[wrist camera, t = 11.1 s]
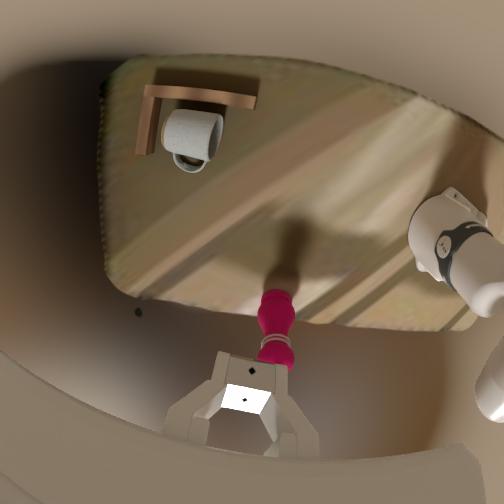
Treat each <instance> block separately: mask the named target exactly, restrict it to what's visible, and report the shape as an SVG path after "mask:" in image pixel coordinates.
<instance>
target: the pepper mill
mask: <svg viewBox="0 0 504 504" xmlns="http://www.w3.org/2000/svg"><path fill="white" fill-rule="evenodd" d="M294 319H295V311H294V308H293V306H292V302H291V298H290V296H289V295H288V294H287V293H286V292H284V291H282V290H271V291H269V292H267V293H265V294H264V295H263V297H262V299H261V306H260V307H259V309H258V321H259V324H260V326H261V328H262V330H263V332H264V334H265V338H264V339H263V340H262V343H261V345H262V346H261V350H260V351H259V354H258V357H257V360H260V361H265V362H270V363H275V364H281V365H286V366H287V367H288V372H289V371H290V370H291V368H292V366H293V364H294V353H293V351H292V350H291V342H290V340H289V339H288V337H287V334H288V331H289V330H290V328H291V326H292V325H293V322H294Z"/></svg>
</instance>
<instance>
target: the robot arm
mask: <svg viewBox="0 0 504 504" xmlns="http://www.w3.org/2000/svg"><path fill="white" fill-rule="evenodd" d="M454 195H455V197H454ZM487 225H488V221H487V218H486V216H485V215H484V214H483V213H482V212H480V211H479V210H478V209H477V208H476V207H475V206H474V205H473V204H471V203H470V202H469V201H468V200H467V199H466V198H465V197H464V196H463V195H462V194H461V193H459V192H458V191H457V190H456V189H455V188H453V187H448V188H447V189H446V190H445V191H443V192H442V193H441V194H440V195H437V196H434V197H432V198H430V199H428V200H426V201H425V202H424V203H423V204H422V205H421V206H420V207H419V208H418V209H417V211H416V212H415V214H414V216H413V218H412V220H411V223H410V226H409V232H408V240H409V245H410V248H411V250H412V252H413V254H414V256H415V258H416V267H417V269H418V270H420V271H428V272H429V273H430V274H431V275H432V276H433V277H434V278H435V279H436V280H437V281H440V280H441V281H445V282H446V283H447V285H448V286H450V287H451V288H452V289H453V290H454V291H456V292H458V293H459V294H460V295H461V297H462V298H463V299H464V300H465V302H466V303H467V304H468V306H469V307H470V308H471V310H472V311H473V312H474V313H476V314H477V315H479V316H482V317H493V316H496V315H498V314H500V313H502V312H504V245H503V244H502V243H501V242H499V241H498V240H496V239H495V238H494V237H493V235H492V232H491V231H490V230H489V229H488V228H487ZM475 397H476V402H477V405H478V407H479V409H480V411H481V412H482V414H483V415H484V416H485V417H487V418H488V419H489V420H492V421H494V422H499V423H503V422H504V336H503V337H502V339H501V341H500V342H499V343H498V345H497V346H496V348H495V349H494V351H493V352H492V353H491V355H490V357H489V359H488V360H487V362H486V364H485V366H484V368H483V370H482V372H481V374H480V375H479V377H478V379H477V381H476V384H475ZM221 406H222V407H227V408H232V409H238V410H243V411H247V412H252V413H258V414H259V415H260V417H261V419H262V421H263V423H264V425H265V427H266V429H267V431H268V433H269V435H270V437H271V439H272V441H273V442H274V443H273V444H272V445H271V446H270V447H269V449H268V450H267V451H266V452H265V453H264V456H261V455H253V454H246V453H240V452H234V451H229V450H224V449H219V448H213V447H209V446H205V443H206V439H207V434H208V429H209V424H210V422H209V421H208V419H209V418H210V417H211V416H212V415H214V414H215V413H216V412H217V411H218V410H219V409H220V408H221ZM0 504H486V497H485V489H484V482H483V476H482V471H481V466H480V463H479V460H478V458H477V456H476V455H475V454H474V453H473V452H472V451H471V450H470V449H469V448H468V447H467V446H466V445H464V444H463V443H457V444H453V445H449V446H445V447H441V448H436V449H432V450H427V451H422V452H416V453H410V454H404V455H397V456H389V457H380V458H368V459H351V460H320V456H319V435H318V433H317V432H316V431H315V429H314V428H313V427H312V425H311V424H310V422H309V421H308V420H307V418H306V417H305V415H304V414H303V413H302V412H301V410H300V409H299V407H298V406H297V404H296V403H295V401H294V400H293V399H292V397H291V396H288V367H287V366H286V365H281V364H275V363H270V362H265V361H260V360H255V359H248V358H244V357H240V356H236V355H233V354H228V353H224V352H221V351H219V352H218V354H217V359H216V362H215V366H214V370H213V374H212V379H211V381H210V380H207V381H206V382H204V383H203V384H202V385H200V386H199V387H198V388H196V389H195V390H193V391H192V392H191V393H190V394H188V395H187V396H185V397H184V398H182V399H181V400H180V401H178V402H177V403H175V404H174V405H173V406H171V407H170V408H169V411H168V414H167V417H166V420H165V422H164V425H163V428H162V431H161V433H158V432H155V431H152V430H149V429H146V428H143V427H141V426H138V425H135V424H132V423H130V422H127V421H125V420H122V419H120V418H117V417H115V416H113V415H110V414H108V413H106V412H104V411H101V410H99V409H97V408H95V407H92V406H90V405H89V404H86V403H84V402H82V401H80V400H78V399H77V398H75V397H73V396H71V395H69V394H67V393H65V392H63V391H62V390H60V389H58V388H56V387H55V386H53V385H51V384H49V383H48V382H46V381H45V380H43V379H41V378H40V377H38V376H37V375H35V374H34V373H32V372H30V371H29V370H27V369H26V368H24V367H23V366H22V365H20V364H19V363H17V362H16V361H15V360H13V359H12V358H10V357H9V356H8V355H7V354H5V353H4V352H2V351H1V350H0Z"/></svg>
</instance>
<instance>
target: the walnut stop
mask: <svg viewBox="0 0 504 504" xmlns="http://www.w3.org/2000/svg"><path fill="white" fill-rule="evenodd" d="M162 98H169V99H181V100H191V101H200V102H208V103H215V104H222V105H228V106H235V107H240V108H246V109H251V110H255V106H256V102H257V98H256V97H255V96H249V95H243V94H238V93H231V92H224V91H217V90H209V89H201V88H191V87H179V86H163V85H146V86H145V91H144V96H143V102H142V108H141V114H140V121H139V128H138V135H137V143H136V152H135V154H139V155H148V154H151V153H154V148H155V141H156V133H157V127H158V120H159V114H160V109H161V103H162Z"/></svg>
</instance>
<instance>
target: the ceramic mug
mask: <svg viewBox="0 0 504 504" xmlns="http://www.w3.org/2000/svg"><path fill="white" fill-rule="evenodd" d="M222 130H223V117H222V115H220V114H216V113H209V112H203V111H195V110H187V109H176V110H173V111H171V112H170V113H169V114H168V115H167V117H166V119H165V121H164V123H163V127H162V132H161V142H162V145H163V147H164V148H165V149H166V150H168V151H170V152H173V158H174V161H175V163H176V164H177V166H178V167H179V168H181V169H182V170H184V171H187V172H191V173H196V172H199V171H200V170H202V169H203V168H204V167H205V165H206V163H207V161H211V160H212V159H213V157H214V156H215V154H216V151H217V149H218V146H219V142H220V139H221V135H222ZM179 154H181V155H186V156H189V157H193V158H197V159H201V160H204V163H203V165H201V166H197V167H196V166H192V165H189V164H187V163H184V162H183V161H182V160H181V159H180V157H179Z"/></svg>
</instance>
